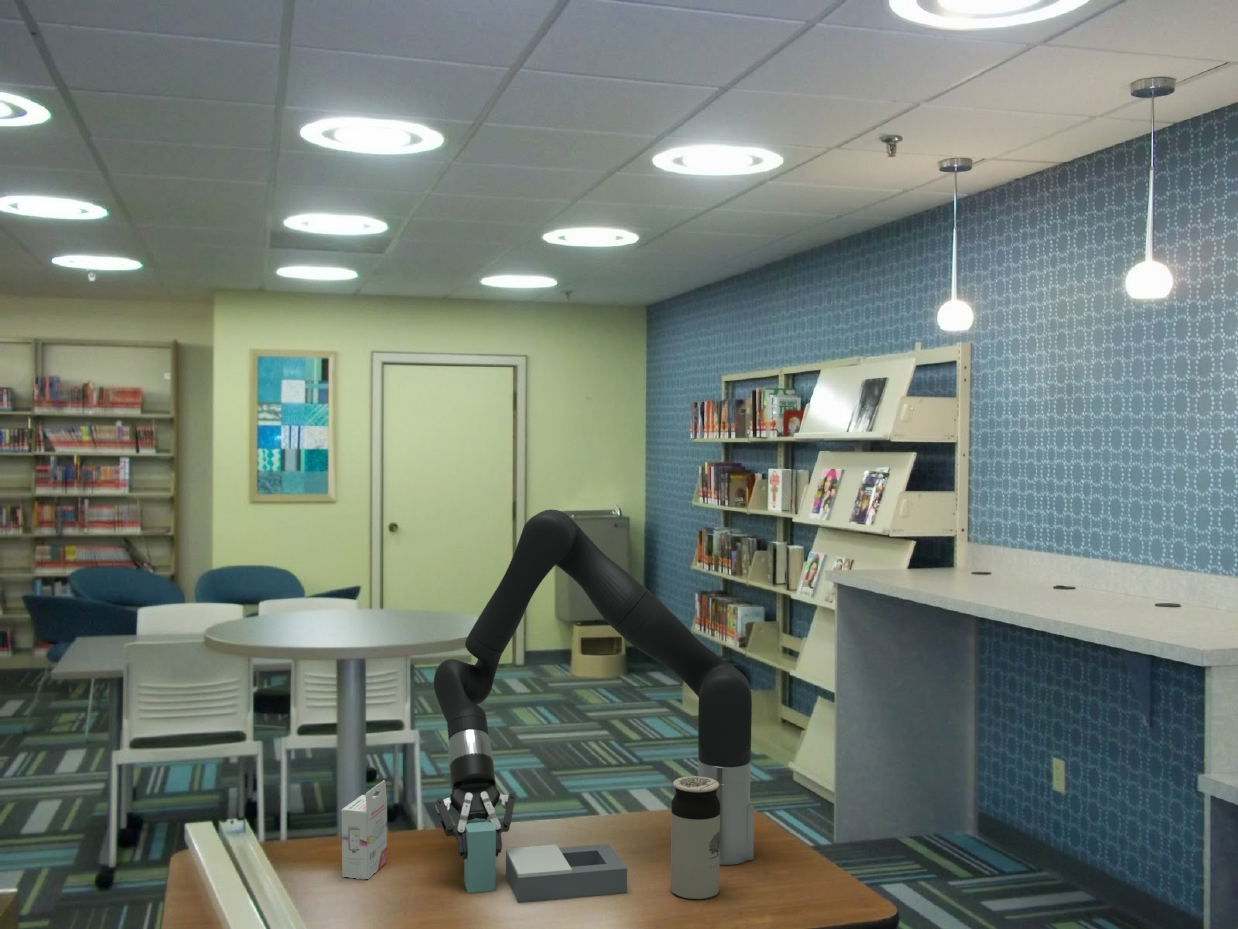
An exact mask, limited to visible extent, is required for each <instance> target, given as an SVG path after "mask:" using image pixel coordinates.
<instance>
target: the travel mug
mask: <svg viewBox="0 0 1238 929" xmlns="http://www.w3.org/2000/svg"><path fill="white" fill-rule="evenodd" d="M672 785H673V786H674V790H675V794H674V796H673V798H672V800H671V810H670V811H671V812H670V813H671V815H670V816H671V818H670V819H671V821H670V822H671V827H670V828H671V829H670V831H671V832H670V890H671V892H672V893H673V894H675V895H676V896H678V897H680V898H684V899H687V900H705V899H708V898H712V897H714V896H716V895H718V894H719V892H720V865H719V864H720V801H719V799H718V797H717V795H716V793H717V788H718V787H719V783H718V782H717V781H716V780H714V779H711V778H707V777H698V775H697V776H695V775H694V776H683V777H679V778H676V779H675V780H674V781H673V784H672Z"/></svg>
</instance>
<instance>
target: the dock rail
mask: <svg viewBox="0 0 1238 929" xmlns="http://www.w3.org/2000/svg"><path fill="white" fill-rule="evenodd" d="M505 877H506V879H507V882H508V883H510V884H509V886H510V888H511V890H512V892H513V894H514V897H515V898H516V901H517V903H518V904H519V903H521V904H522V903H530V902H541V901H551V900H561V899H562V900H563V899H571V898H572V899H573V898H583V897H594V896H595V897H596V896H605V895H615V894H617V895H618V894H626V893H628V867H627V866H626V865H625V863H624V862H623V861H622V859H621V858H620V857H619V855H618V854H617V852H616V851H615V850H614V848H613V847H612V846H611V845H610V843H603V844H602V843H601V844H591V845H590V844H589V845H577V846H576V845H575V846H563V847H559V846H558V844H545V845H536V846H535V845H533V846H523V847H521V846H520V847H519V846H518V847H511V848H510V847H508V848H505Z"/></svg>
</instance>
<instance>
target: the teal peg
mask: <svg viewBox="0 0 1238 929" xmlns="http://www.w3.org/2000/svg"><path fill="white" fill-rule="evenodd" d="M465 833H466V839H467V849H468V856H467V859H463V860H464V864H463V865H464V866H463V868H464V870H463V872H464V873H463V874H464V875H463V881H464V882H463V883H465V884H464V886H465V888H466V891H467V894H474V893H485V892H486V893H487V892H488V893H489V892H495V891H496V877H497V876H496V867H497V866H496V865H497V862H496V861H497V860H496V858H497V857H496V830H495V828H494V825H493V823H491V822H485V821H481V822H470V823H466V825H465Z"/></svg>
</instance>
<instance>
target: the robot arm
mask: <svg viewBox="0 0 1238 929" xmlns="http://www.w3.org/2000/svg"><path fill="white" fill-rule="evenodd" d="M555 566H557V567H558V568H559V569H561V570H562V571H564V573H565V574H567V575H568V576H570V578H572V579H573V581H575V582H576V583H577V584H578V585H579V586H580V587H581V588H582V590H583V591H584V593H585V594H586V596H587V597H588V599H589V600H590V601H591V603H592V604H593V606H594V607H595V608H596V610H597V612H598V613H599V614H600V615H601V617H602V618H603V619H604V620H605V622H607V623H608V625H609V626H610V627H611V628H612V629H614V630H615V631H616V632H617V633H618V634H619V635H620V636H621V637H623V639H624V640H626V642H628V643H629V644H630V645H632V646H633V647H634V648H636V649H637V650H638V651H640V652H641V653H643V654H645V655H646V656H647V657H650V658H651V659H653V660H655V661H656V662H658V663H659V664H661V665H663V666H665V667H667V668H668V669H669V670H671V671H672V672H673V673H674V674H676V675H677V676H678V677H679V678H680V679H681V681H683V682H684V683H685V684H686V685H687V686H688V687H689V688H690V689H691V691H692V692H694V694H695V695H696V696H697V698H698V709H697V710H698V712H697V713H698V714H697V716H698V718H697V719H698V721H697V722H698V730H697V731H698V732H697V733H698V738H697V745H698V746H697V748H698V760H697V762H698V764H697V765H698V768H697V769H698V770H697V776H698V777H707V778H711V779H714V780H716V781H717V782H718V783H719V787H718V788H717V793H716V795H717V797H718V799H719V801H720V864H719V866H721V865H722V866H725V865H726V866H729V865H739V864H741V863H744V862H747V861H751V860H752V861H753V860H754V843H755V841H754V840H755V836H754V834H755V831H754V829H755V828H754V826H755V824H754V822H755V820H754V819H755V807H754V805H753V804H752V803H751V757H752V756H751V752H752V720H753V719H752V717H753V715H752V714H753V713H752V712H753V711H752V710H753V708H752V707H753V704H752V703H753V700H752V689H751V685H750V682H749V681H748V678H747V676H745V675H744V674H743V672H741V671H740V670H738V669H737V668H736V667H734V666H733V665H732V664H730V662H729V663H728V661H726V660H725V659H724V658H722V657H720V655H718V654H717V653H715V652H714V651H713V650H711V649H710V648H708V646H706V645H705V644H704V643H702V642H701V640H699V639H698V638H697V637H696V636H695V634H693V633H692V632H691V631H690V629H689V628H688V626H686V625H685V624H684V623H683V622H682V621H681V620H680V619H679V617H677V616H676V615H675V614H674V613H673V612H672V611H671V610H670V609H669V608H668V607H667V606H666V604H664V603H663V602H662V601H661V600H660V599H659V598H658V597H656V596H655V595H654V593H652V592H651V591H650V590H648V588H646V587H645V586H644V585H643V584H641V583H640V582H639V581H638V580H637V579H635V577H634V576H632V575H631V574H630V573H628V571H626V570H625V569H623V568H622V566H620V565H618V563H616V562H615V561H614V560H612V559H611V558H609V557H608V556H607V555H606V554H605V553H604V552H603V551H602V550H601V549H600V548H599V547H598V545H596V544H595V542H593V540H591V538H590V537H589V536H588V535H587V534H586V533H585V532H584V531H583V530H582V528H581V527H580V526H579V525H578V524H577V523H576V521H575V520H574V519H573V518H572V517H571V516H570V515H568V514H567V513H565V512H563V511H560V510H558V509H546V510H542V511H540V512H538V513H536V514H535V515H533V516H532V517H530V519H528V520H527V521H526V523H524V526H523V528H522V532H521V534H520V537H519V539H518V542H517V545H516V547H515V550H514V553H513V555H512V558H511V560H510V563H509V565H508V567H507V569H506V571H505V573H504V575H503V577H502V579H501V581H500V582H499V584H498V585H497V587H496V589H495V590H494V592H493V594H492V596H491V597H490V599H489V601H488V602H487V603H486V605H485V607H484V608H483V610H482V611H481V613H480V615H479V616H478V618H477V620H476V621H475V623H474V625H473V626H472V628H471V630H470V632H469V633H468V635H467V637H466V639H465V644H464V645H465V648H466V651H468V652H469V654H471V656H473V657H474V658H475V659H477V661H476V662H475V665H474V664H471V663H469V662H465V661H462V660H459V659H453V658H449V659H446V660H444V661H442V662H441V663H440V664H439V665H438V667H437V668H436V670H435V672H434V676H433V689H434V693H435V696H436V699H437V702H438V704H439V706H440V709H441V712H442V715H443V717H444V719H445V721H446V725H447V737H448V766H449V774H450V775H449V776H450V786H451V793H450V796H449V797H447V798H444V799H443V798H441V797H438V798H437V799H436V800H435V806H434V809H435V812H436V814H437V818H438V820H439V822H440V824H441V828H442V830H443V832H444V834H445V836H446V837H454V838H456V843H457V845H456V846H457V853H458V856H459V857H462V860H464V859H467V856H468V849H467V839H466V833H465V825H466V823H467V822H468V821H472V820H475V819H479V820H484V822H491V823H493V825H494V828H495V830H496V858H497V857H499V854H500V853H501V852H502V848H503V840H502V833H507V832H509V830H510V826H511V824H512V820H513V813H514V808H515V802H516V794H515V793H513V792H511V793H509V794H502V793H500V790H498V787H497V782H496V773H495V766H494V757H493V751H492V750H493V749H492V748H493V747H492V744H491V741H490V735H489V729H488V728H489V727H488V719H487V715H486V711H485V710H484V709H483V708H482V707H481V706H479V704H481V703H483V702H484V701H485V700H487V698H488V697H489V696H490V694H491V691H492V689H493V685H494V680H495V676H496V675H497V671H498V666H499V663H500V659H501V657H502V654H503V653H504V651H505V650H506V647H507V646H508V645H509V643H510V641H511V639H512V638H513V636H514V634H515V632H516V631H517V629H518V627H519V626H520V623H521V621H522V619H523V617H524V615H525V613H526V610H527V607H528V605H529V603H530V602H531V599H532V597H533V596H534V594H535V592H536V591H537V589H538V587H539V586H540V584H541V583H542V582H543V581H544V579H545V578H546V577H547V576H548V575H549V573H550V572H551V571H552V569H553V568H554V567H555ZM499 802H500V803H501V807H502V809H504V810H505V811H504V814H503V815H504V816H503V820H502V821H500V820H499V818H498V817H497V812H496V810H495V807H496V805H498V803H499ZM450 806H452V807H453V809H454V810H456V812H458V813H459V815H460V817H459V820H458V825H455V824H454V823H453V820H452V818H451V815H450V813H449V811H450Z"/></svg>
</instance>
